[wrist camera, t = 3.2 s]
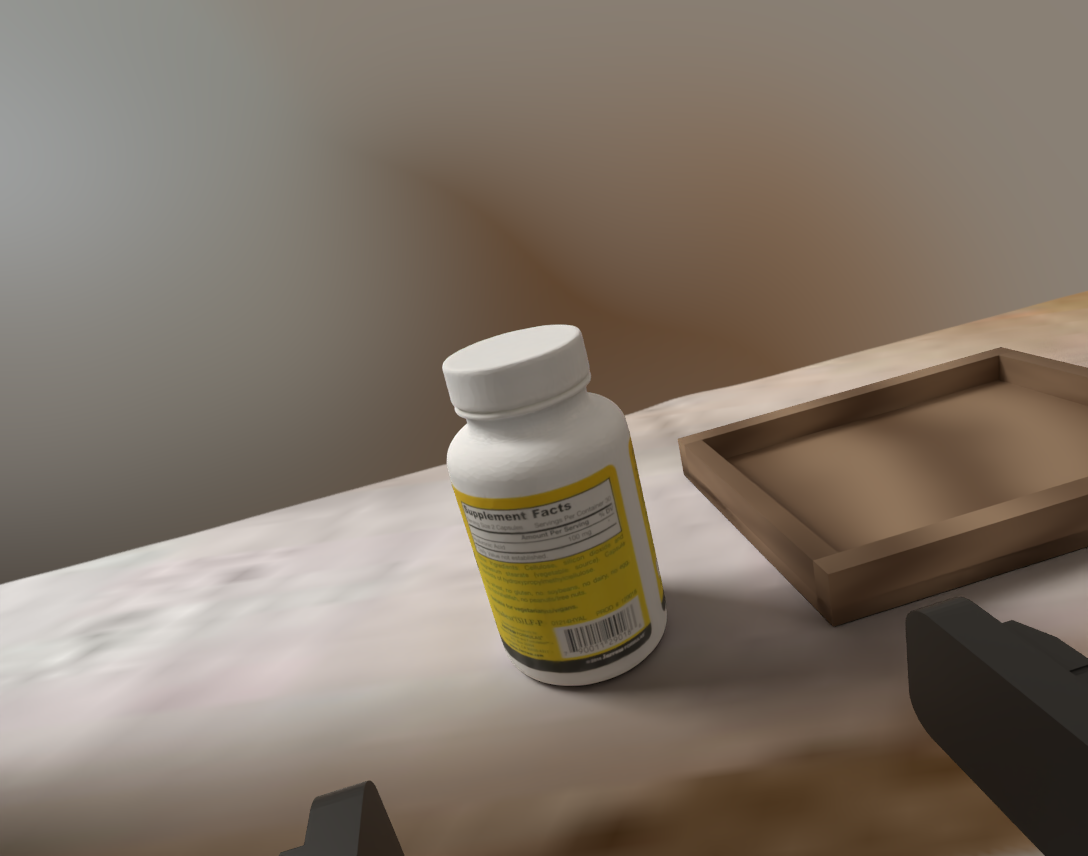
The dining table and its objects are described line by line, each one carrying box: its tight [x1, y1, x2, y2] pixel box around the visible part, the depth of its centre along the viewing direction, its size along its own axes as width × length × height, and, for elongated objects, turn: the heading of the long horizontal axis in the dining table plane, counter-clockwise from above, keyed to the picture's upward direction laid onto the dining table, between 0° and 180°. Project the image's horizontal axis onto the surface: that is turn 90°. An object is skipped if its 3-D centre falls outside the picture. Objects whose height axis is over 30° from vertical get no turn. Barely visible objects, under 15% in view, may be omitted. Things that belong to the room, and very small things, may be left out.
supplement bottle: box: [443, 325, 667, 686], centre depth 20 cm, size 5×5×10 cm
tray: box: [678, 347, 1088, 627], centre depth 26 cm, size 16×12×2 cm
